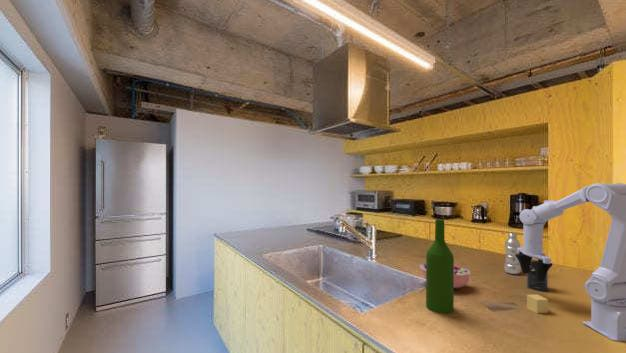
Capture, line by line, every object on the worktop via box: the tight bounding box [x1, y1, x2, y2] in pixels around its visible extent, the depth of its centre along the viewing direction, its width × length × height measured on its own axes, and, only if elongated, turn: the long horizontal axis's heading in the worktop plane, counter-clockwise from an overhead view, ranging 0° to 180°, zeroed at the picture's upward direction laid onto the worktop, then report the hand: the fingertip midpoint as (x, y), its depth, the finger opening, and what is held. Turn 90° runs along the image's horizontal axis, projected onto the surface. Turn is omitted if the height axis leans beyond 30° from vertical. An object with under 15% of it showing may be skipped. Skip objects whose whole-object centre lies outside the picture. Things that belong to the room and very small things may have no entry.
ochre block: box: [526, 294, 549, 314], centre depth 94 cm, size 4×4×6 cm
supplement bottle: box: [526, 260, 549, 292], centre depth 114 cm, size 7×7×12 cm
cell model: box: [419, 262, 471, 289], centre depth 117 cm, size 17×20×11 cm
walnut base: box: [480, 301, 522, 313], centre depth 95 cm, size 12×12×1 cm
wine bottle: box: [425, 218, 455, 315], centre depth 97 cm, size 9×9×32 cm
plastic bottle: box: [503, 231, 522, 275], centre depth 134 cm, size 6×7×20 cm
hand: (532, 276), depth 103 cm, fingers open, 7 cm apart
